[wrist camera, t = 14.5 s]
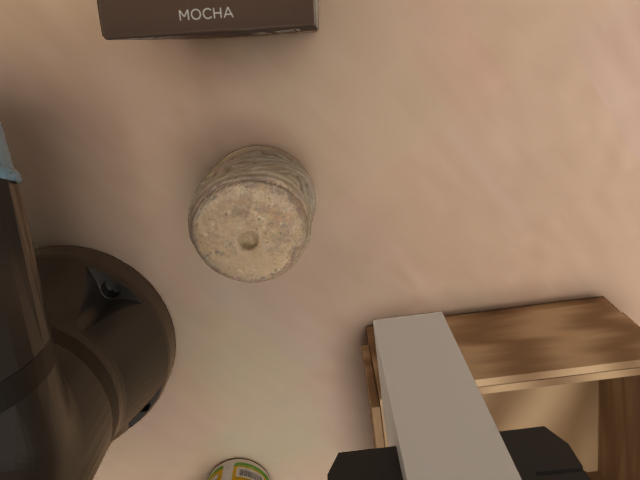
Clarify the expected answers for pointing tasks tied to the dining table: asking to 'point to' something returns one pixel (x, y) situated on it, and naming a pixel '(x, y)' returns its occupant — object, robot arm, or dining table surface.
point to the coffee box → (204, 18)
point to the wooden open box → (550, 377)
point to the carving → (253, 214)
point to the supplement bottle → (239, 471)
